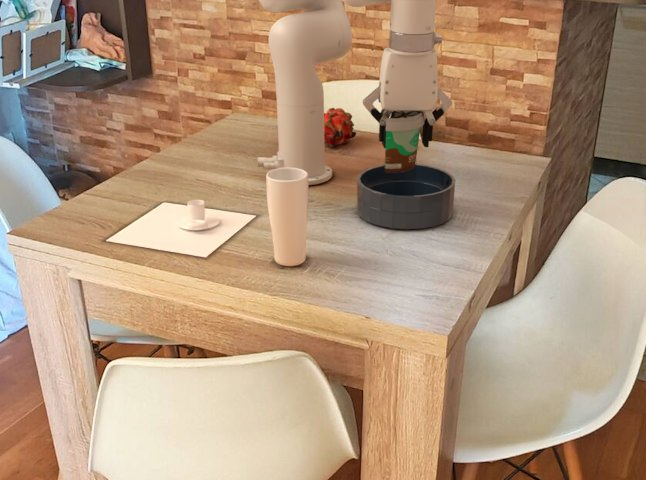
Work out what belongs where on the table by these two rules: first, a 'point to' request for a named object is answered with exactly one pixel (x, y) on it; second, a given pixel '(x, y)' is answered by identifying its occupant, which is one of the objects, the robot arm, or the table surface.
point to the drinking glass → (288, 213)
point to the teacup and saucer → (183, 228)
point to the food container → (402, 140)
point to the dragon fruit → (337, 127)
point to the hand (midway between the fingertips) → (404, 144)
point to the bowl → (405, 197)
